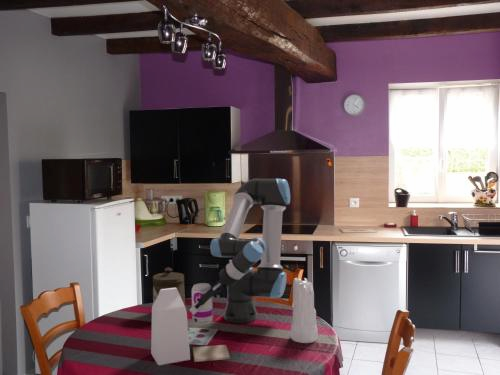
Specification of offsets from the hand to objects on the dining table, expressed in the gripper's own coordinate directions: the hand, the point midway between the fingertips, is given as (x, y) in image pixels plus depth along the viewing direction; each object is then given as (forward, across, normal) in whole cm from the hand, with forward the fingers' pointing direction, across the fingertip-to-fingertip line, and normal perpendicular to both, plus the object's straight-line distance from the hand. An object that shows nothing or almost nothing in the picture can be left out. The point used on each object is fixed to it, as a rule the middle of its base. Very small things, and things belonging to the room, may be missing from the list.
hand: (196, 308), depth 213 cm
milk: (+10, +20, +8) cm, 23 cm away
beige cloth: (0, +13, +17) cm, 21 cm away
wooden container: (+29, -25, -10) cm, 39 cm away
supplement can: (+2, 0, +6) cm, 6 cm away
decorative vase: (-20, -15, +38) cm, 46 cm away
